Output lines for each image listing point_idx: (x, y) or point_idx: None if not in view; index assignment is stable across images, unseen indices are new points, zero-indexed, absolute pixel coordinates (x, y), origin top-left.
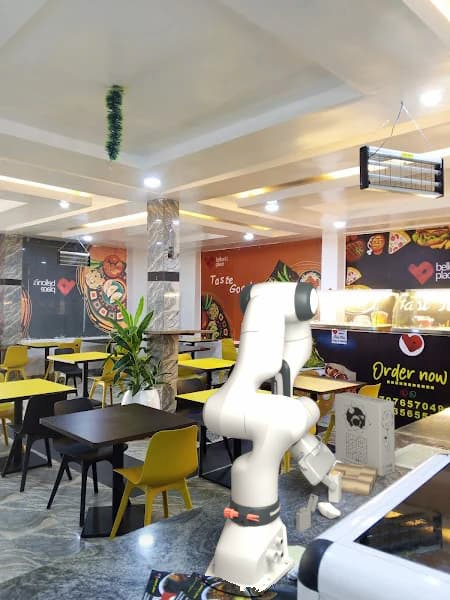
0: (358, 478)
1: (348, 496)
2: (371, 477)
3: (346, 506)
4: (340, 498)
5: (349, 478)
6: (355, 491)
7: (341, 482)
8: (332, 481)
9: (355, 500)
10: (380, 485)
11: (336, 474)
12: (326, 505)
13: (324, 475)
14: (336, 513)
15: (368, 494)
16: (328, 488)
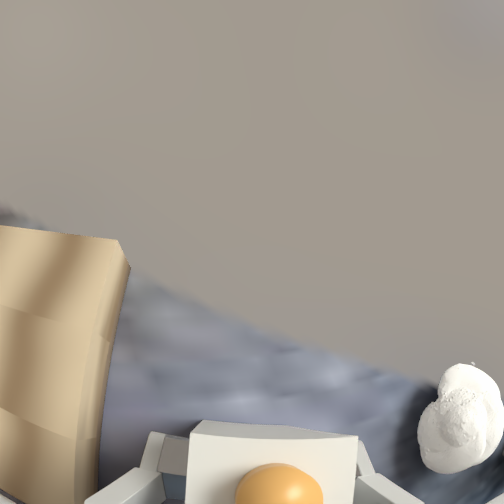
0: (9, 300)
1: (161, 380)
2: (3, 233)
3: (310, 377)
4: (234, 423)
5: (12, 357)
6: (109, 336)
7: (80, 419)
8: (365, 476)
9: (209, 338)
10: (16, 224)
11: (305, 471)
12: (497, 413)
13: (494, 502)
14: (481, 371)
15: (128, 268)
16: (94, 491)
